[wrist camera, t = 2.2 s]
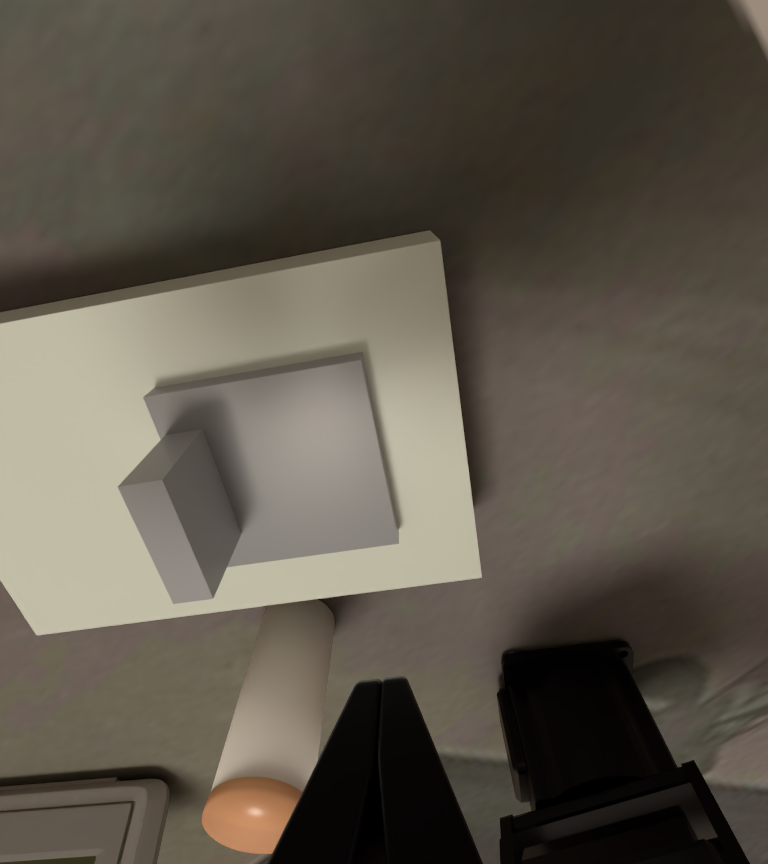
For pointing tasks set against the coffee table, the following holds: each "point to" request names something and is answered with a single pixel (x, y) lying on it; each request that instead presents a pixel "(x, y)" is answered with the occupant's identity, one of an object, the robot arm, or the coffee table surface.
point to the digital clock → (83, 822)
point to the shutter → (260, 472)
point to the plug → (273, 729)
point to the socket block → (207, 358)
